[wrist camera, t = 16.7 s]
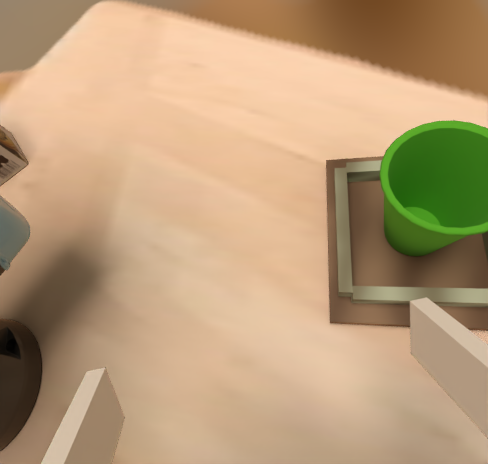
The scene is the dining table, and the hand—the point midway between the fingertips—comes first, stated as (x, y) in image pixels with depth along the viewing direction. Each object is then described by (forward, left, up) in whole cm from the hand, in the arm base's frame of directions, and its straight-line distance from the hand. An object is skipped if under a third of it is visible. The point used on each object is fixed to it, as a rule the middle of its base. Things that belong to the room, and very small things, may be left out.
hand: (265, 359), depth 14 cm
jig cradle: (+11, +13, -19) cm, 26 cm away
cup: (+11, +13, -18) cm, 25 cm away
